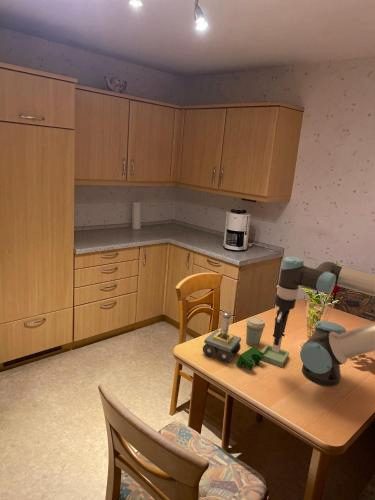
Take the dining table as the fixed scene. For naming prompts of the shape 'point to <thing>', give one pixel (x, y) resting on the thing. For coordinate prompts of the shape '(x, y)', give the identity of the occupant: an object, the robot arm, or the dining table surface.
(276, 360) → the tray
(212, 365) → the dining table surface
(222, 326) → the pin
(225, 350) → the toy cart
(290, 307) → the robot arm
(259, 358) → the clamp
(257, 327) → the coffee cup
